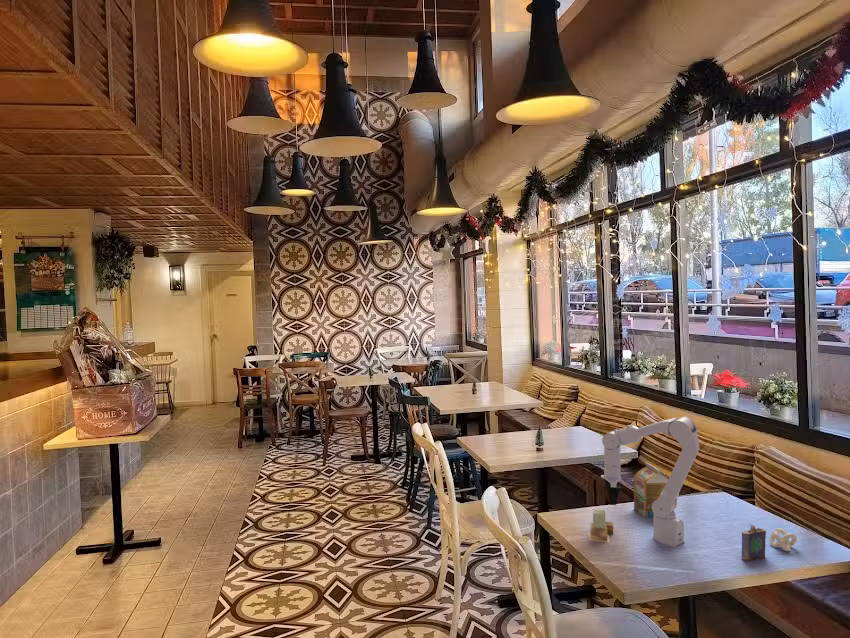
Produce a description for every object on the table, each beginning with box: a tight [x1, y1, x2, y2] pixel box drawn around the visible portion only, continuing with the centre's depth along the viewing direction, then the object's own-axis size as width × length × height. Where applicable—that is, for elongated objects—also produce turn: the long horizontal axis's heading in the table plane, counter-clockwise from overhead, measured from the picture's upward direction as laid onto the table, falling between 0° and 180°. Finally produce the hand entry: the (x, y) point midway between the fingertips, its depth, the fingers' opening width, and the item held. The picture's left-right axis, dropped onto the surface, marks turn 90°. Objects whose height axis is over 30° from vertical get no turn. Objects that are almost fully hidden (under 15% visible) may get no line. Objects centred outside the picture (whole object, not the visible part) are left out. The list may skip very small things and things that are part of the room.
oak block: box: [589, 522, 607, 542], centre depth 209 cm, size 6×6×4 cm
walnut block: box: [605, 521, 614, 535], centre depth 214 cm, size 4×4×3 cm
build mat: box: [587, 532, 610, 543], centre depth 209 cm, size 14×14×1 cm
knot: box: [768, 527, 798, 552], centre depth 201 cm, size 8×8×6 cm
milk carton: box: [633, 462, 669, 519], centre depth 234 cm, size 10×11×19 cm
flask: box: [741, 524, 767, 562], centre depth 193 cm, size 9×3×11 cm, turn 110°
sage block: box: [592, 509, 606, 529], centre depth 209 cm, size 4×4×5 cm
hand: (612, 501), depth 218 cm, fingers open, 7 cm apart
